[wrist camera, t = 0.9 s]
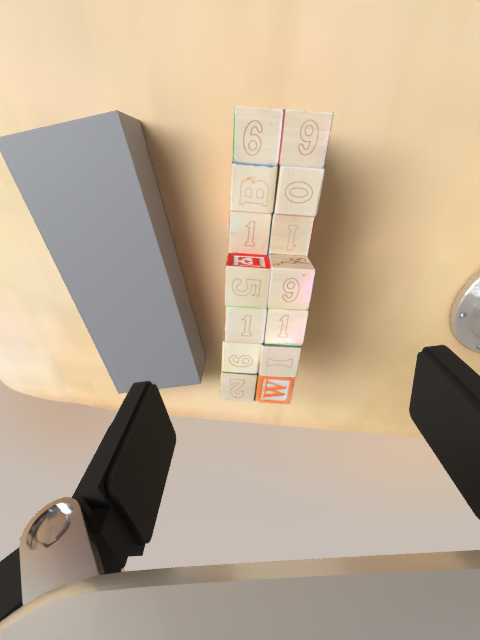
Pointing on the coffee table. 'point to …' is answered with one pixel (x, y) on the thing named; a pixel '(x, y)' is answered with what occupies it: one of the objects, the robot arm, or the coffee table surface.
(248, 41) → the coffee table surface
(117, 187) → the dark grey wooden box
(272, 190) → the stack of blocks
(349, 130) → the coffee table surface
